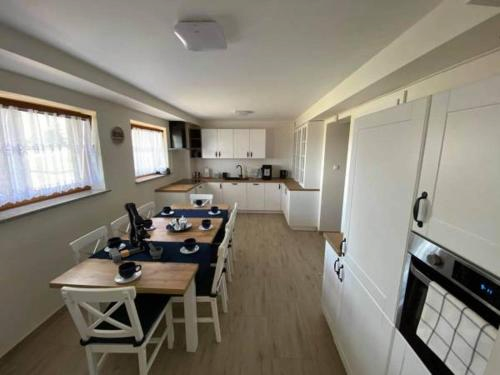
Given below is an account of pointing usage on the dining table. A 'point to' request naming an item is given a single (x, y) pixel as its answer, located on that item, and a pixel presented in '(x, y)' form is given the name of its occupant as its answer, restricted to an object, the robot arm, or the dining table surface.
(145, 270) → the dining table surface
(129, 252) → the plug
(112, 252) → the housing
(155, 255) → the mortar and pestle
